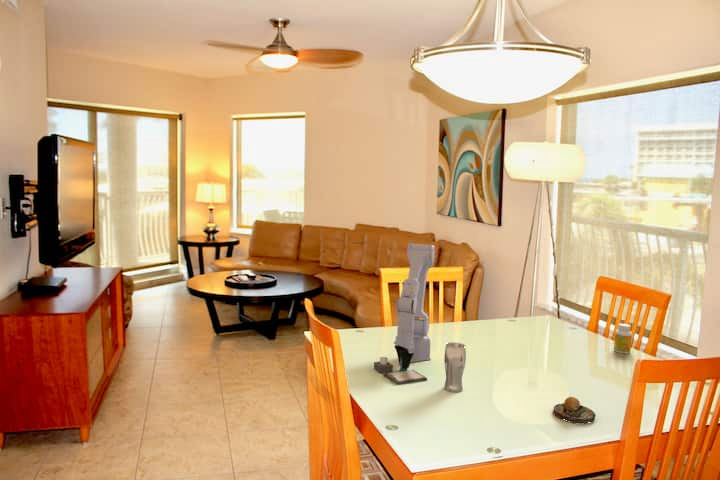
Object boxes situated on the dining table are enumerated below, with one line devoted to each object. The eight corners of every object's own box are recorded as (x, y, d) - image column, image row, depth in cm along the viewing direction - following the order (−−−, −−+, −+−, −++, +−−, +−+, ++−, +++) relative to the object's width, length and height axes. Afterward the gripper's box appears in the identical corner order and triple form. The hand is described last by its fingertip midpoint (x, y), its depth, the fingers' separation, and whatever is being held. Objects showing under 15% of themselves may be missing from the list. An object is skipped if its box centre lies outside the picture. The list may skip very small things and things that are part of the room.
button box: (386, 367, 212) (386, 360, 212) (392, 371, 208) (393, 364, 208) (373, 369, 210) (374, 362, 210) (380, 373, 206) (380, 366, 205)
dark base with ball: (603, 423, 171) (605, 399, 170) (566, 426, 169) (568, 401, 168) (579, 407, 183) (581, 384, 182) (545, 409, 180) (547, 386, 179)
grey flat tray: (413, 371, 209) (413, 368, 209) (426, 380, 201) (427, 376, 201) (383, 376, 203) (383, 372, 203) (396, 384, 195) (396, 380, 195)
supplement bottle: (614, 352, 241) (616, 325, 240) (613, 348, 247) (616, 322, 246) (630, 354, 239) (633, 327, 238) (629, 350, 245) (632, 324, 243)
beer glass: (451, 394, 189) (453, 349, 187) (438, 386, 195) (440, 343, 193) (468, 391, 192) (470, 347, 190) (455, 384, 198) (457, 341, 196)
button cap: (385, 365, 211) (385, 356, 210) (388, 367, 208) (389, 358, 208) (378, 365, 209) (378, 357, 209) (381, 368, 207) (382, 359, 207)
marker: (404, 368, 212) (405, 352, 211) (408, 371, 209) (409, 355, 209) (398, 369, 210) (399, 353, 210) (402, 372, 208) (403, 355, 207)
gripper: (388, 324, 214) (386, 360, 215) (402, 336, 200) (400, 374, 202) (406, 324, 216) (404, 359, 217) (421, 335, 202) (419, 373, 204)
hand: (403, 366), depth 210 cm, fingers closed on marker, 3 cm apart
